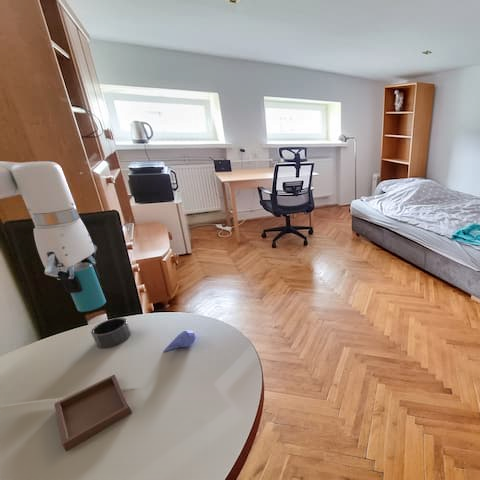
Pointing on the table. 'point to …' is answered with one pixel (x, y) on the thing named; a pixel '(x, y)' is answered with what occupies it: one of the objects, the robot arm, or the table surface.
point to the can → (87, 288)
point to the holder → (111, 333)
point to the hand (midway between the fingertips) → (83, 284)
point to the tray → (90, 411)
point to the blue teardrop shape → (182, 340)
